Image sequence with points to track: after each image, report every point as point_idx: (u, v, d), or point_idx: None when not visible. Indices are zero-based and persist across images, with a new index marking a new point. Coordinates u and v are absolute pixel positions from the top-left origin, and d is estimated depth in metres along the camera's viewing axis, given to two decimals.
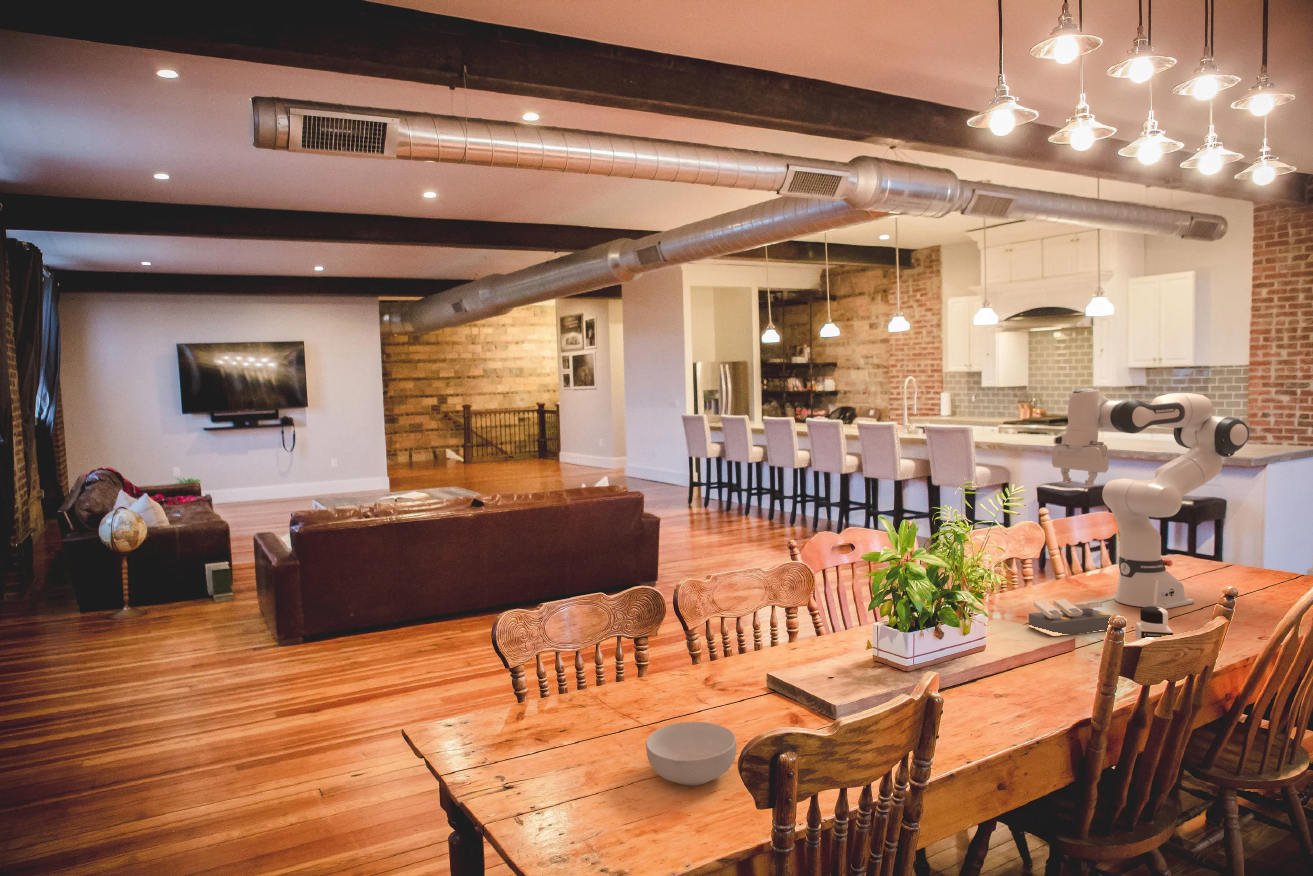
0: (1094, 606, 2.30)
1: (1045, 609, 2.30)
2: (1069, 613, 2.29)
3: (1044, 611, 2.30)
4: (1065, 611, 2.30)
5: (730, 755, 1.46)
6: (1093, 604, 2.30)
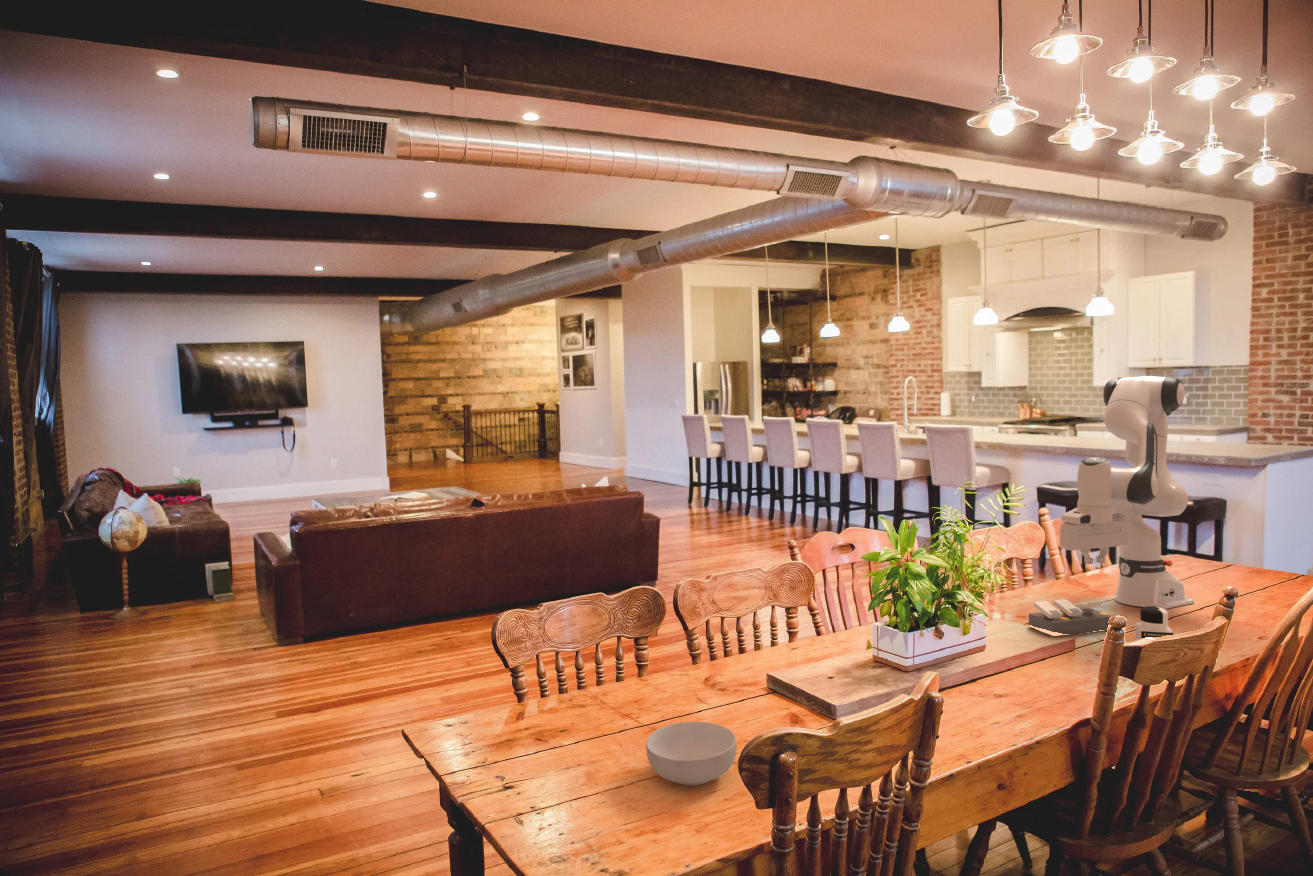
0: (1094, 606, 2.30)
1: (1045, 609, 2.30)
2: (1069, 613, 2.29)
3: (1044, 611, 2.30)
4: (1065, 611, 2.30)
5: (730, 755, 1.46)
6: (1093, 604, 2.30)
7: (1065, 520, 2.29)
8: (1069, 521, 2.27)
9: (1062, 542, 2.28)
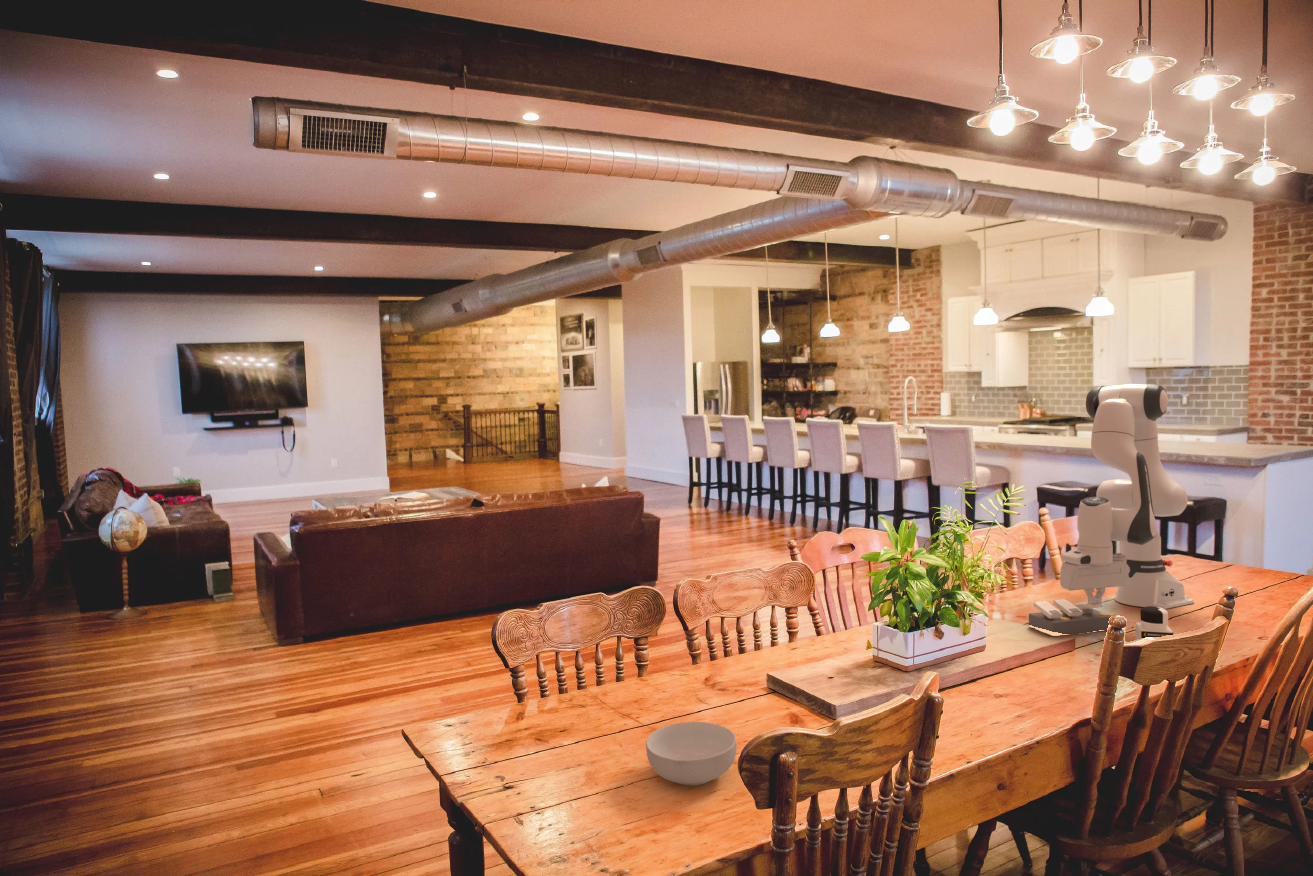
0: (1094, 606, 2.30)
1: (1045, 609, 2.30)
2: (1069, 613, 2.29)
3: (1044, 611, 2.30)
4: (1065, 611, 2.30)
5: (730, 755, 1.46)
6: (1093, 604, 2.30)
7: (1065, 560, 2.29)
8: (1069, 561, 2.28)
9: (1062, 582, 2.29)
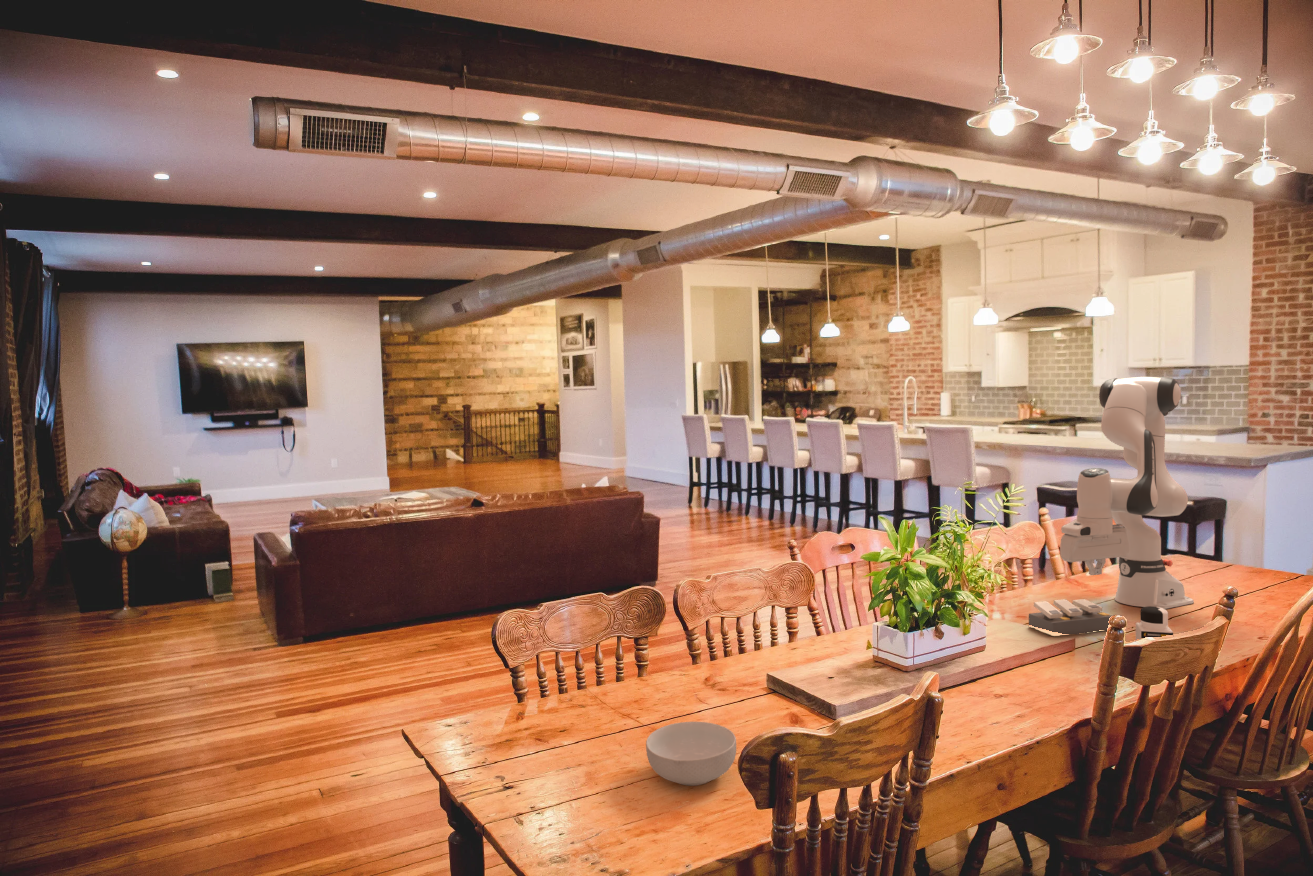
0: (1094, 611, 2.30)
1: (1045, 609, 2.30)
2: (1069, 613, 2.29)
3: (1044, 611, 2.30)
4: (1065, 611, 2.30)
5: (730, 755, 1.46)
6: (1094, 609, 2.30)
7: (1065, 532, 2.29)
8: (1069, 533, 2.27)
9: (1062, 554, 2.29)
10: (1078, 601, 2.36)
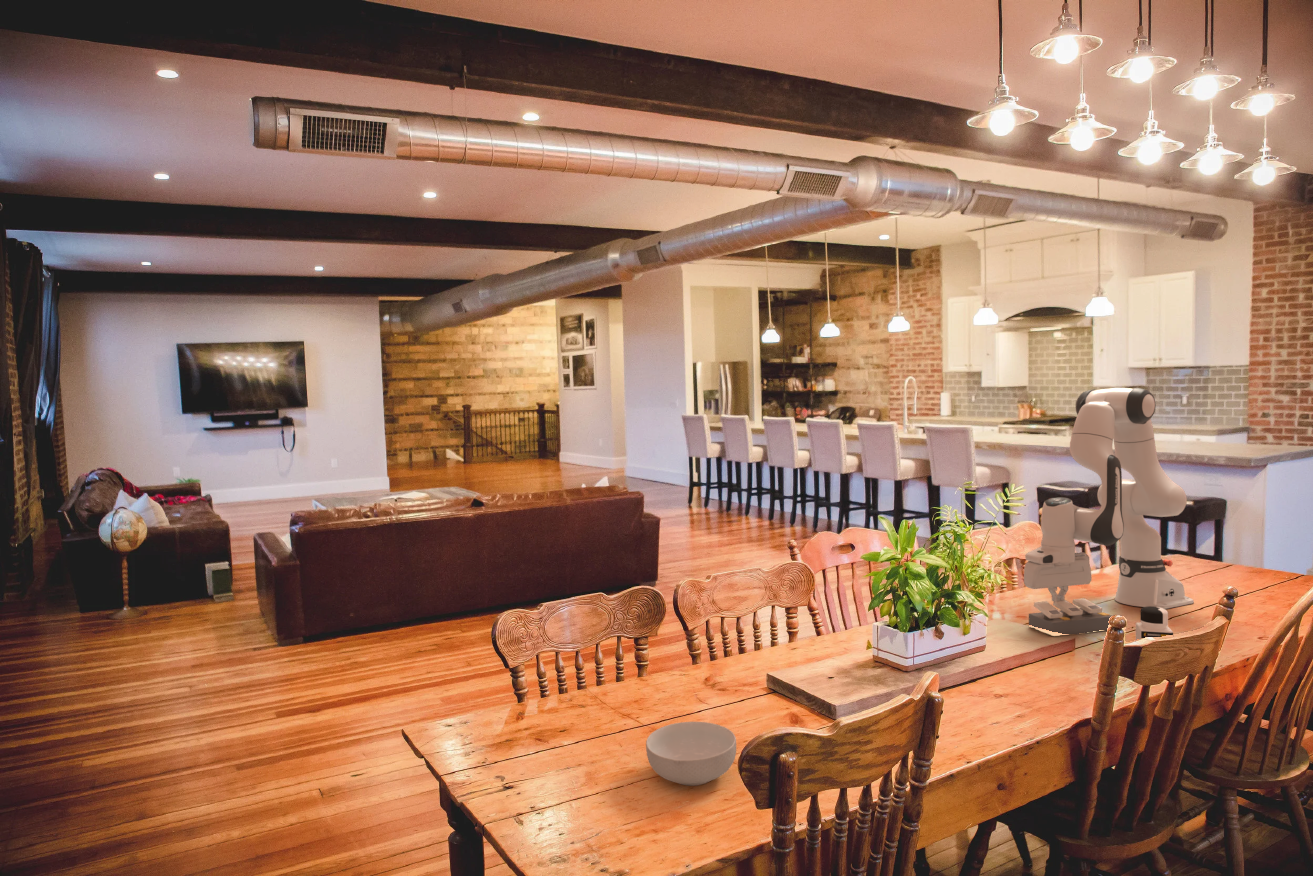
0: (1094, 611, 2.30)
1: (1045, 609, 2.30)
2: (1069, 612, 2.29)
3: (1044, 611, 2.30)
4: (1065, 611, 2.30)
5: (730, 755, 1.46)
6: (1094, 610, 2.30)
7: (1029, 559, 2.34)
8: (1032, 560, 2.33)
9: (1026, 581, 2.34)
10: (1078, 601, 2.36)
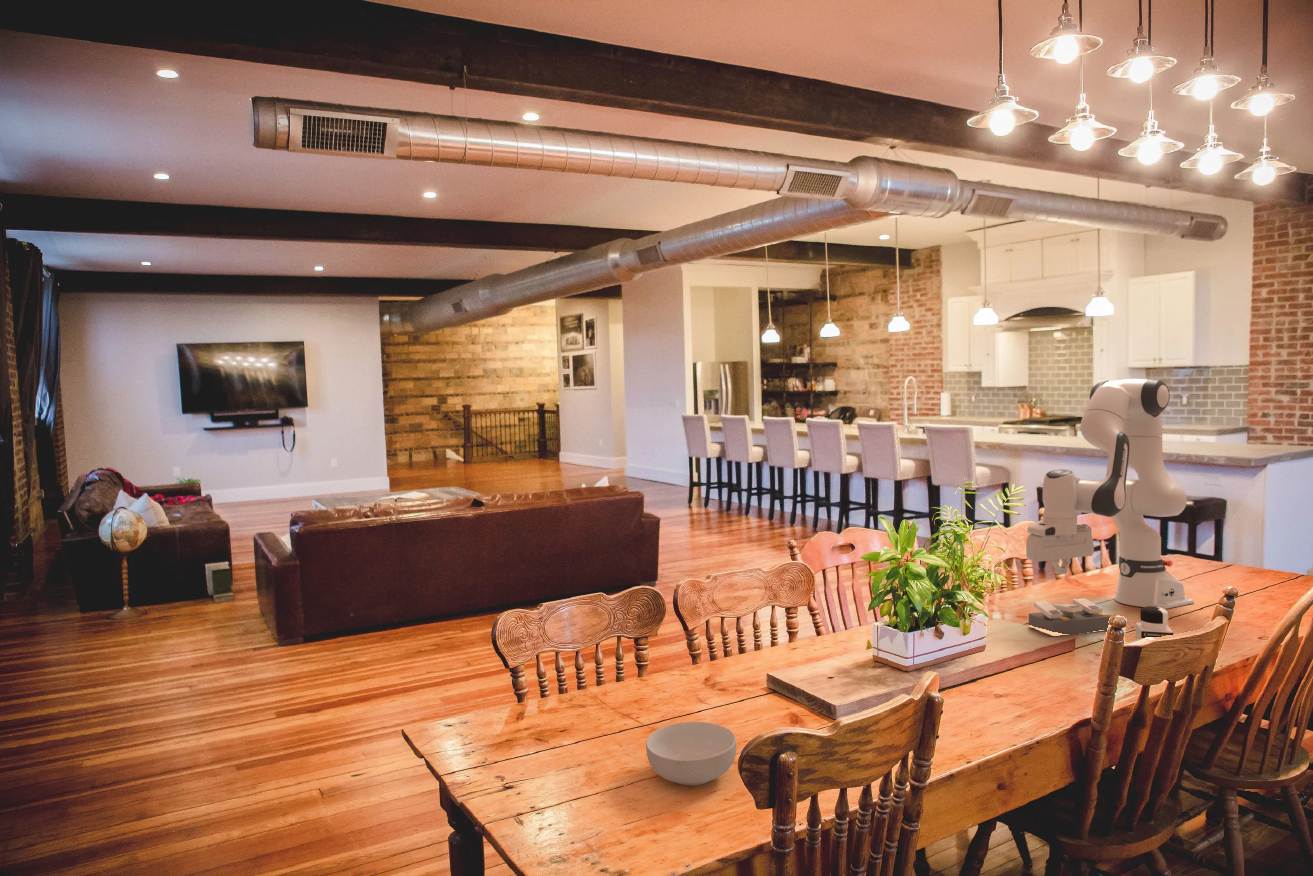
0: (1094, 612, 2.30)
1: (1045, 609, 2.30)
2: (1069, 609, 2.29)
3: (1044, 611, 2.30)
4: (1065, 609, 2.30)
5: (730, 755, 1.46)
6: (1094, 610, 2.30)
7: (1031, 532, 2.33)
8: (1034, 533, 2.32)
9: (1028, 554, 2.33)
10: (1078, 600, 2.36)
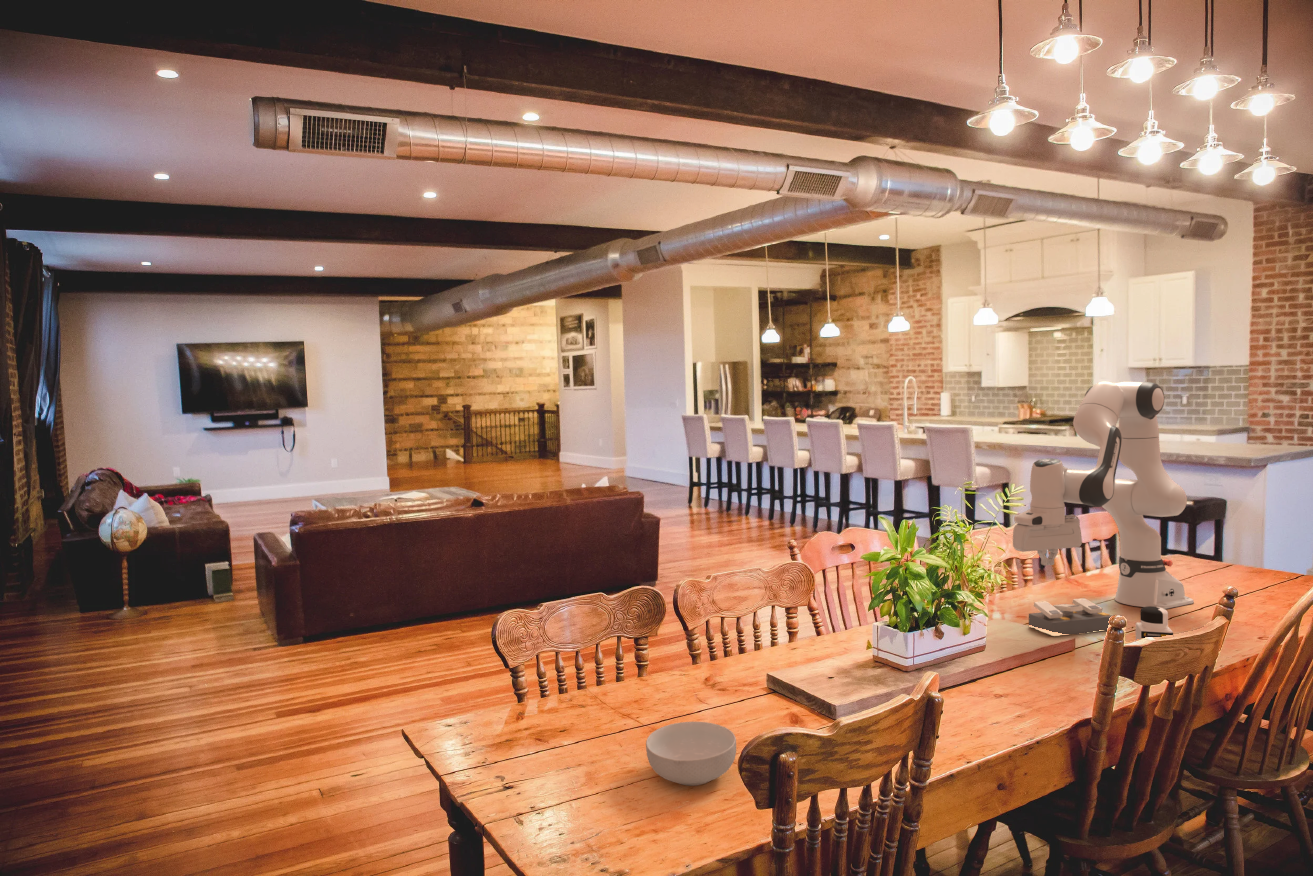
0: (1094, 612, 2.30)
1: (1045, 609, 2.30)
2: (1069, 608, 2.29)
3: (1044, 611, 2.30)
4: (1065, 609, 2.30)
5: (730, 755, 1.46)
6: (1094, 610, 2.30)
7: (1018, 521, 2.29)
8: (1021, 522, 2.27)
9: (1015, 543, 2.28)
10: (1078, 600, 2.36)
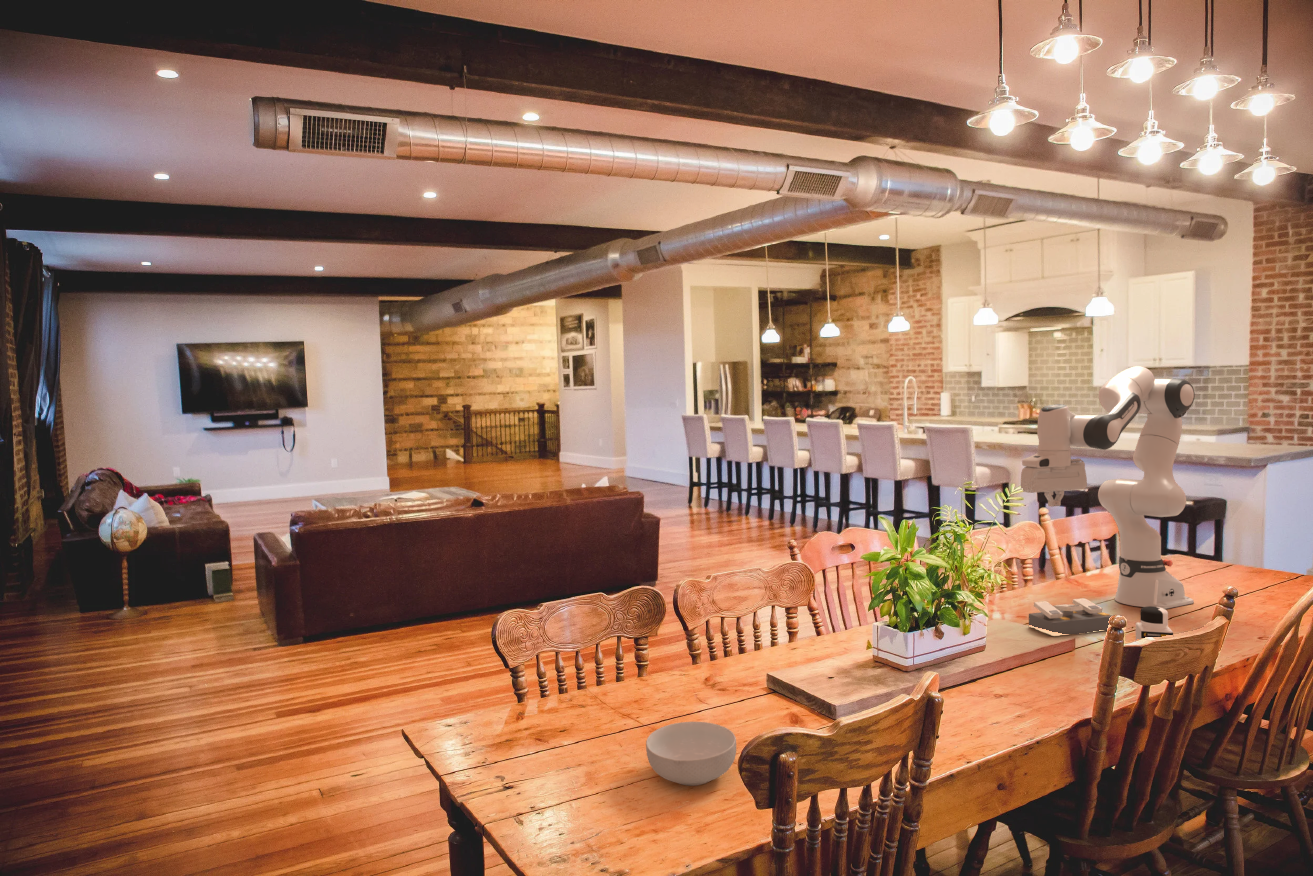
0: (1094, 612, 2.30)
1: (1045, 609, 2.30)
2: (1069, 608, 2.29)
3: (1044, 611, 2.30)
4: (1065, 609, 2.30)
5: (730, 755, 1.46)
6: (1094, 610, 2.30)
7: (1025, 464, 2.39)
8: (1029, 465, 2.37)
9: (1022, 485, 2.38)
10: (1078, 600, 2.36)
